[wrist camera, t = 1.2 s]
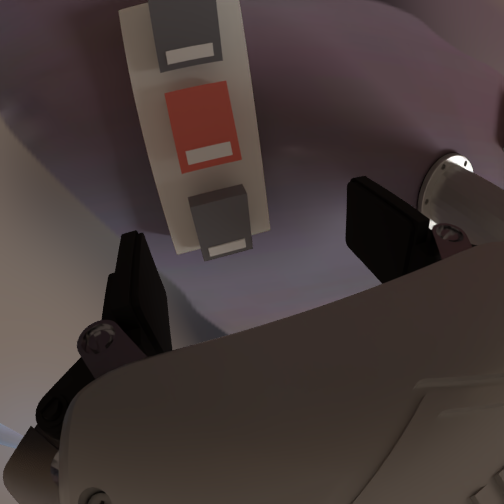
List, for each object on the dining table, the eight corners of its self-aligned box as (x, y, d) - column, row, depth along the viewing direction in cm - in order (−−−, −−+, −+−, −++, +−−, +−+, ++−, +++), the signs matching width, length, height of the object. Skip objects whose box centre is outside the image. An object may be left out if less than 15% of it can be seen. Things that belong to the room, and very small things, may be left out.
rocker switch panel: (228, -2, 19) (239, -14, 16) (259, 214, 32) (272, 233, 28) (124, 18, 18) (116, 8, 14) (174, 236, 30) (177, 259, 27)
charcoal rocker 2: (242, 183, 24) (247, 194, 23) (248, 238, 28) (253, 249, 27) (187, 197, 23) (190, 208, 22) (201, 250, 27) (204, 262, 26)
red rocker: (223, 83, 20) (226, 80, 19) (238, 158, 23) (242, 159, 21) (165, 96, 20) (164, 93, 18) (181, 172, 22) (181, 174, 20)
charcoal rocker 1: (210, -14, 15) (214, -16, 14) (219, 58, 19) (223, 60, 18) (147, -3, 14) (147, -5, 13) (159, 69, 18) (160, 73, 17)
